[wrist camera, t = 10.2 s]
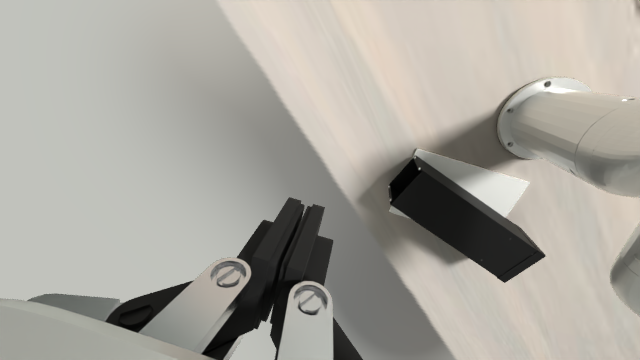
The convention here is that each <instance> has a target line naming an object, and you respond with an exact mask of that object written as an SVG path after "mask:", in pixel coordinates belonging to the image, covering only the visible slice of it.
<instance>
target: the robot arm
mask: <svg viewBox="0 0 640 360" xmlns="http://www.w3.org/2000/svg"><path fill="white" fill-rule="evenodd" d="M544 83H546V84H545V85H544ZM508 109H509V111H507V110H508ZM497 134H498V137H499V140H500V142H501V144H502V145H503V146H504V147H505V148H506V149H507V150H508V151H509V152H511V153H513V154H514V155H516V156H518V157H522V158H525V159H545V160H547V161H549V162H550V163H552V164H554V165H556V166H558V167H560V168H561V169H563V170H565V171H567V172H569V173H571V174H572V175H574V176H576V177H578V178H580V179H582V180H583V181H585V182H587V183H589V184H591V185H593V186H595V187H597V188H599V189H601V190H603V191H606V192H608V193H611V194H615V195H619V196H626V197H634V198H640V98H637V97H629V96H620V95H612V94H603V93H595V92H592V90H591V89H590V88H589V87H588V86H587V85H586V84H584V83H583V82H581V81H579V80H576V79H574V78H568V77H549V78H544V79H540V80H537V81H535V82H532V83H530V84H528V85H526V86H525V87H523V88H522V89H520V90H519V91H517V92H516V93H515V94H514V95H513V96H512V97H511V98H510V99H509V100H508V101H507V103H506V104H505V106H504V107H503V109H502V110H501V113H500V115H499V118H498V123H497ZM508 143H509V144H508ZM324 208H325V207H322V206H318V205H315V204H313V206H312V207H310V206H308V207H307V209H306V211H305V213H304V216H303V218H302V215H303V211H304V205H303V204H301V201H300V200H297V199H293V198H288V200H287V202H286V203H285V205H284V206H283V208H282V210H281V211H280V213H279V214H278V216H277V218H276V219H275V221H274V222H270V221H266V220H263V221H262V222H261V224H260V225H259V226H258V228H257V229H256V231H255V232H254V234H253V235H252V236H251V238H250V239H249V241H248V242H247V244H246V245H245V246H244V248H243V249H242V251H241V252H240V254H239V255H238V256H237V258H223V259H220V260H218V261H216V262H214V263H213V264H212V265H210V266H209V267H208V268H207V269H206V270H205V271H204V272H203V273H202V274H201V275H199V276H198V277H197V278H196V279H195V280H194V281H190V282H187V283H184V284H180V285H177V286H174V287H170V288H167V289H164V290H161V291H157V292H154V293H150V294H147V295H144V296H140V297H137V298H134V299H131V300H129V301H127V302H125V303H120V300H119V299H113V298H102V297H90V296H78V295H66V294H65V295H64V294H44V295H41V296H37V297H34V298H31V299H29V300H27V301H24V300H14V299H0V360H229V359H230V357H231V356H232V354H233V352H234V351H235V349H236V348H237V346H238V345H239V343H240V341H241V339H242V337H243V334H245V333H247V332H249V331H252V330H253V329H254V328H255V329H258V327H259V325H260V322H261V320H262V321H265V322H266V321H267V319H268V316H269V314H270V311H271V309H272V306H273V310H272V315H271V320H270V323H271V324H272V329H271V334H270V336H271V338H272V341H273V343H274V345H275V347H276V349H277V350H276V355H275V360H363V359H362V358H361V356H360V355H359V353H358V352H357V350H356V349H355V348H354V346H353V345H352V343H351V342H350V341H349V339H348V338H347V336H346V335H345V333H344V332H343V330H342V329H341V327H340V326H339V325H338V323H337V322H336V320H335V319H334V317H333V303H332V297H331V295H330V293H329V292H328V290H327V289H326V288H325V287H324V282H325V278H326V272H327V268H328V264H329V259H330V254H331V250H332V245H333V240H331V239H328V238H324V237H321V236H318V232H319V227H320V224H321V220H322V216H323V212H324ZM610 283H611V286H612V288H613V290H614V292H615V293H616V295H617V296H618V297H619V299H620V300H621V301H622V302H623V303H624V304H625V305H626V306H627V307H628V308H630V309H631V310H632V311H633V312H634V313H636V314H637V315H638V316H639V317H640V222H639V224H638V225H637V227H636V229H635V230H634V232H633V233H632V235H631V236H630V238H629V239H628V241H627V242H626V244H625V245H624V247H623V248H622V250H621V252H620V253H619V255H618V256H617V258H616V260H615V262H614V264H613V266H612V268H611V271H610ZM273 304H274V305H273Z"/></svg>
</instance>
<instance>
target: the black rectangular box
mask: <svg viewBox="0 0 640 360" xmlns="http://www.w3.org/2000/svg"><path fill="white" fill-rule="evenodd" d="M388 188H389V197H390V205H392V206H393V207H395V208H396V209H398V210H399V211H401V212H402V213H404V214H405V215H406V216H408V217H409V218H411V219H412V220H414V221H415V222H417V223H418V224H420V225H421V226H423V227H424V228H426V229H427V230H429V231H430V232H432V233H433V234H435V235H436V236H437V237H439V238H440V239H442V240H443V241H445V242H446V243H448V244H449V245H451V246H452V247H454V248H455V249H457V250H458V251H460V252H461V253H463V254H464V255H465V256H467V257H468V258H470V259H471V260H473V261H474V262H476V263H477V264H479V265H480V266H482V267H483V268H485V269H486V270H488V271H489V272H491V273H492V274H494V275H495V276H496V277H497V278H498V279H500V280H501V281H503V282H504V283H505V282H507V281H508V280H510V279H511V278H513V277H515V276H516V275H518V274H519V273H521V272H522V271H524V270H525V269H527V268H528V267H530V266H531V265H533V264H535V263H536V262H538V261H539V260H541V259H542V258H544V257H545V256H546V255H545V254H544V253H543V252H542V251H541V250H540V249H539V248H538V247H537V245H536V244H535V243H534V242H533V241H532V240H531V239H530V238H529V237H528V236H527V234H526V233H525V232H524V231H523V230H522V229H521V228H520V227H518V226H517V225H516V224H513V223H512V222H511V221H509V220H508V219H506V218H505V217H503V216H502V215H501V214H499V213H498V212H496V211H495V210H493V209H492V208H491V207H489V206H488V205H486V204H485V203H483V202H482V201H481V200H479V199H478V198H476V197H475V196H473V195H472V194H471V193H469V192H468V191H466V190H465V189H463V188H462V187H461V186H459V185H458V184H456V183H455V182H453V181H452V180H451V179H449V178H448V177H446V176H445V175H443V174H442V173H441V172H439V171H438V170H436V169H435V168H433V167H432V166H431V165H429V164H428V163H426V162H425V161H423V160H422V159H421V158H419V157H418V156H416V155H415V156H414V158H413V159H412V160H411V161H410V162H409V163H408V164H407V165H406V166H405V168H404V169H403V170H402V171H401V172H400V173H399V174H398V175H397V177H396V178H395V179H394V180H393V181H392V182H391V183H390V184H389V186H388Z"/></svg>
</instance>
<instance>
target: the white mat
mask: <svg viewBox="0 0 640 360" xmlns="http://www.w3.org/2000/svg"><path fill="white" fill-rule="evenodd" d="M415 155H416V156H418V157H419V158H421V159H422V160H423V161H425V162H426V163H428V164H429V165H431V166H432V167H433V168H435V169H436V170H438V171H439V172H441V173H442V174H443V175H445V176H446V177H448V178H449V179H451V180H452V181H453V182H455V183H456V184H458V185H459V186H461V187H462V188H463V189H465V190H466V191H468V192H469V193H471V194H472V195H473V196H475V197H476V198H478V199H479V200H481V201H482V202H483V203H485V204H486V205H488V206H489V207H491V208H492V209H493V210H495V211H496V212H498V213H499V214H501V215H502V216H503V217H505V218H506V216H507V215H508V214H509V212H510V211H511V209H512V208H513V206H514V205H515V204H516V202H517V201H518V199H519V198H520V197H521V195H522V194H523V192H524V191H525V189H526V188H527V187H528V185H529V184H530V182H529V181H526V180H522V179H519V178H516V177H512V176H509V175H506V174H502V173H499V172H496V171H492V170H489V169H486V168H482V167H479V166H475V165H472V164H469V163H465V162H462V161H459V160H455V159H452V158H449V157H445V156H442V155H439V154H435V153H432V152H429V151H425V150H422V149H419V148H417V149H416V151H415V153H414V156H415ZM414 156H413V158H414ZM413 158H412V159H413ZM389 212H390V213H393V214H397V215H400V216H403V217H406V218H409V217H408V216H406V215H405V214H404V213H402V212H401V211H399V210H398V209H396V208H395V207H393V206H392V205H391V207H390V210H389ZM409 219H411V218H409Z"/></svg>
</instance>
